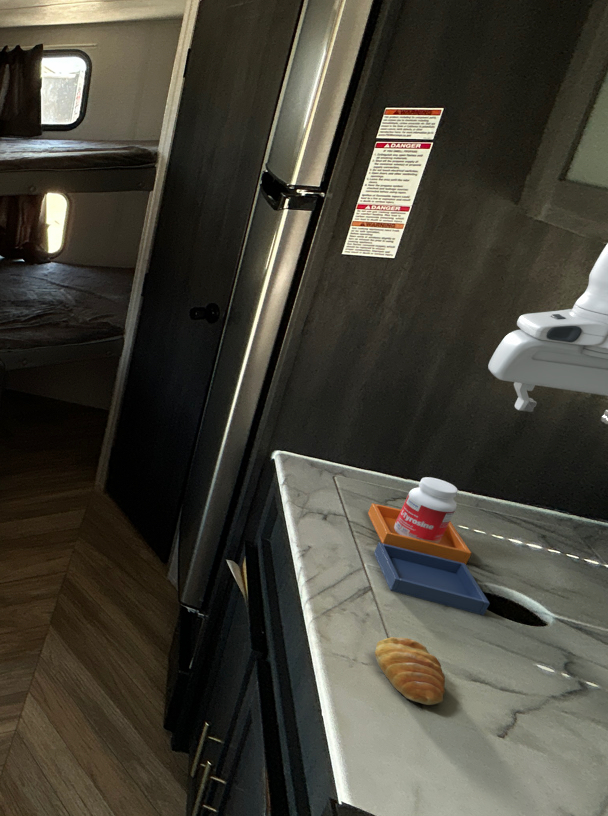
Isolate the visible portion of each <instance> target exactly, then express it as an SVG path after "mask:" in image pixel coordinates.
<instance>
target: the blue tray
mask: <svg viewBox="0 0 608 816" xmlns="http://www.w3.org/2000/svg"><path fill="white" fill-rule="evenodd" d="M373 555H374V557H375V559H376V562H377V564H378V566H379V568H380V571H381V573H382V575H383V577H384V580H385V582H386V584H387V586H388V589H389V590H390V591H391V592H395V593H399V594H401V595H405V596H409V597H413V598H417V599H420V600H424V601H428V602H431V603H436V604H439V605H443V606H446V607H451V608H454V609H457V610H462V611H466V612H469V613H472V614H475V615H481V616H484V615H485V613H486V612H487V610H488V607H489V606H490V604H491V603H490V601H489V600H488V598H487V596H486V595H485V593H484V592H483V590H482V588H481V587H480V585H479V584H478V582H477V581H476V579H475V577H474V576H473V574H472V573H471V572H470V570H469V568H468V566H467V564H465V563H461V562H457V561H453V560H449V559H445V558H441V557H437V556H432V555H428V554H424V553H420V552H416V551H412V550H408V549H404V548H400V547H395V546H391V545H387V544H383V543H382V542H378V543H377V545H376V548H375V549H374V552H373Z"/></svg>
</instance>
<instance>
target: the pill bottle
mask: <svg viewBox="0 0 608 816" xmlns="http://www.w3.org/2000/svg"><path fill="white" fill-rule="evenodd" d="M458 491H459V489H458V488H457V487H456V486H455V485H454V484H452V483H450V482H448V481H446V480H442V479H439V478H435V477H431V476H429V477H427V476H425V477H422V478H421V479H420V481H419V482H418V487H414V488H412V489H411V490H410V491H409V492H408V494H407V496H406V499H405V501H404V503H403V505H402V507H401V508H400V509H401V512H400V514H399V516H398V518H397V520H396V523H395V525H394V529H395V531H396V532H397V533H398V534H399V535H403V536H407V537H411V538H416V539H420V540H424V541H428V542H432V543H437V544H438V543H439V542H440V540H441V538H442V536H443V534H444V532H445V530H446V528H447V526H448V524H449V522H450V521H451V520H452V518H453V516H454V514H455V512H456V510H457V507H458V505H457V502H456V500H455V498H456V496H457V494H458Z"/></svg>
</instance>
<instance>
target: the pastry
mask: <svg viewBox="0 0 608 816" xmlns="http://www.w3.org/2000/svg"><path fill="white" fill-rule="evenodd" d="M374 654H375V659H376V662H377V663H376V664H377V666H379V668H380V670H381V671H382V672H383V674H384V676H385V678H387V679H388V681H389V683H390V684H391V685H392V687H393V688H394V689H396V691H398V692H399V693H400V694H402V695H403V697H405V698H406V699H407V700H409V701H412V702H416V703H420V704H422V705H426V706H434V705H436V704H440V703H442V702H443V699H444V694H445V692H446V690H445V686H446V676H445V674H444V672H443V669H442V664H441V663H440V661H439V659H438V658H437V656H435V655H433V654H431V653H430V652H429V651H428V649H427V647H426V646H425V645H423V644H422V643H420V642H419V641H416V640H413V639H410V638H408V637H394V636H392V637H387V638H384V639H381V640H379V641H378V642H377V643H376V647H375V651H374Z"/></svg>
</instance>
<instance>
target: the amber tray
mask: <svg viewBox="0 0 608 816" xmlns="http://www.w3.org/2000/svg"><path fill="white" fill-rule="evenodd" d="M401 509H402V508H395V507H391V506H387V505H382V504H378V503H372V502H371V505H370V507H369V509H368V512H367V515H368V517H369V519H370V522H371V523H372V525H373V528H374V530H375V532H376V534H377V536H378V538H379V540H380V543H383V544H387V545H391V546H395V547H400V548H404V549H408V550H412V551H416V552H420V553H424V554H428V555H432V556H437V557H441V558H445V559H449V560H453V561H457V562H461V563H465V565H467V563H468V561H469V560H470V557H471V556H472V551H471V550H470V548H469V547H468V545H467V544H466V542H465V541H464V540H463V538H462V536H461V535H460V533H459V531H457V529H456V528H455V526H454V524H453V523H452V522H451V520H450V522H449V524H448V526H447V528H446V530H445V532H444V534H443V536H442V538H441V540H440V542H439V543H438V544H437V543H432V542H428V541H424V540H420V539H416V538H411V537H407V536H403V535H399V534H398V533H397V532H396V531H395V529H394V525H395V523H396V520H397V518H398V516H399V514H400V512H401Z"/></svg>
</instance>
